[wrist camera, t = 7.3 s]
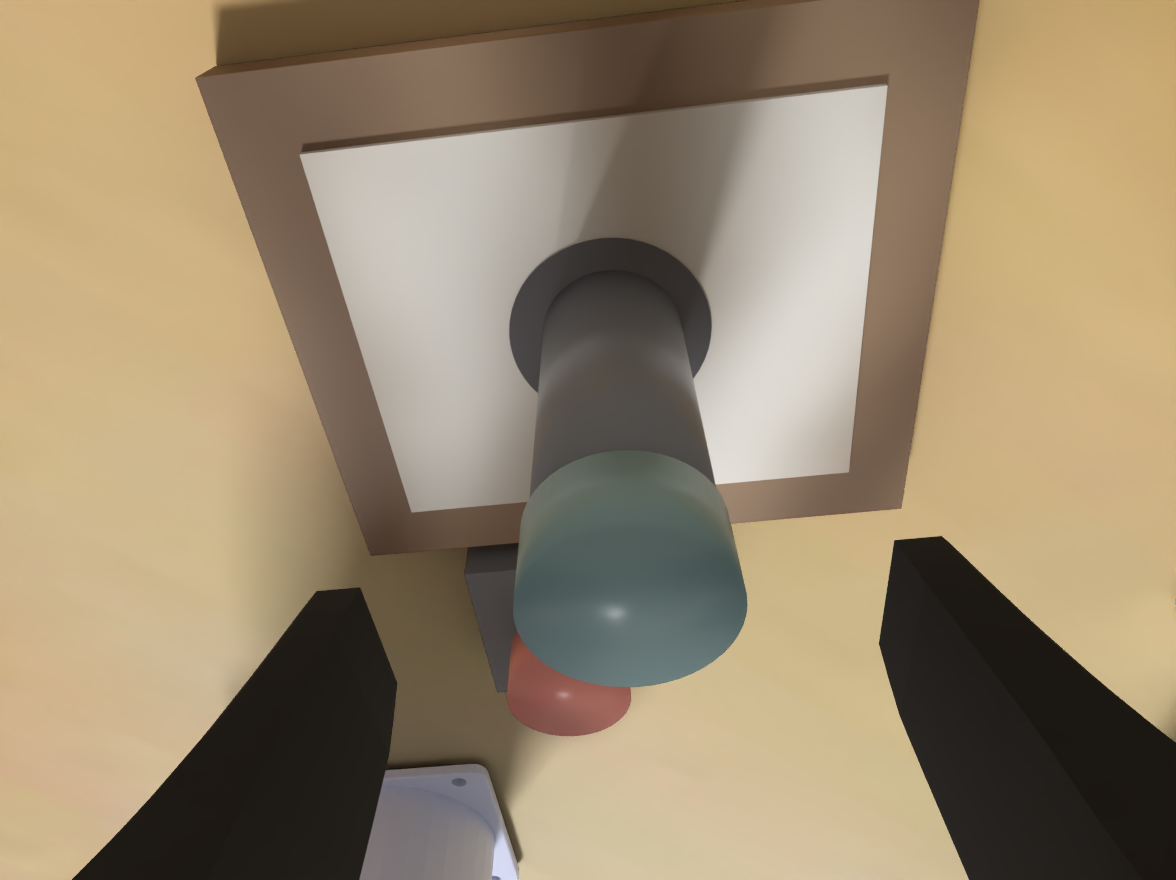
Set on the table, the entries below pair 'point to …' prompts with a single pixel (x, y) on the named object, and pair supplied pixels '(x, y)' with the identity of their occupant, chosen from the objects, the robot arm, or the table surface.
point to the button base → (494, 602)
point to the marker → (623, 497)
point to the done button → (559, 697)
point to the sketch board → (609, 239)
